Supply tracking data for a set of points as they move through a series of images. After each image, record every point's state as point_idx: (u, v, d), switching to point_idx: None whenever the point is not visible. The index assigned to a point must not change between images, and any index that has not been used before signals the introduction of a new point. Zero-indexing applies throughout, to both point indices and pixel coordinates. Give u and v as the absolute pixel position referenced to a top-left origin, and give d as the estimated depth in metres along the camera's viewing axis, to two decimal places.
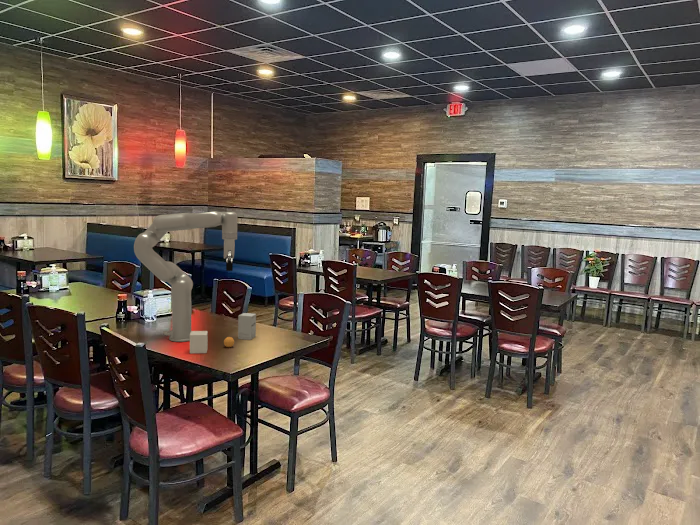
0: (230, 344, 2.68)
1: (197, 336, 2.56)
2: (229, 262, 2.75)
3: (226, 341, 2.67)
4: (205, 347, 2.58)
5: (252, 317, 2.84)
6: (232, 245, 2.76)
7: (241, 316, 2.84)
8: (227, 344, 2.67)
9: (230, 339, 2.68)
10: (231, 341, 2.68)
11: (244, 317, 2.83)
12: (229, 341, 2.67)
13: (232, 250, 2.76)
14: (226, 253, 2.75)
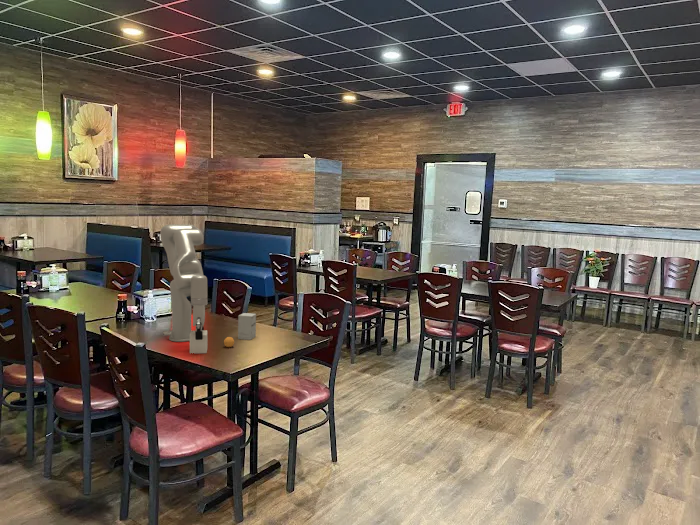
0: (230, 344, 2.68)
1: None
2: (198, 330, 2.53)
3: (226, 341, 2.67)
4: (205, 347, 2.57)
5: (252, 317, 2.84)
6: (201, 312, 2.54)
7: (241, 316, 2.84)
8: (227, 344, 2.67)
9: (230, 339, 2.68)
10: (231, 341, 2.68)
11: (244, 317, 2.83)
12: (229, 341, 2.67)
13: (202, 317, 2.54)
14: (195, 321, 2.53)
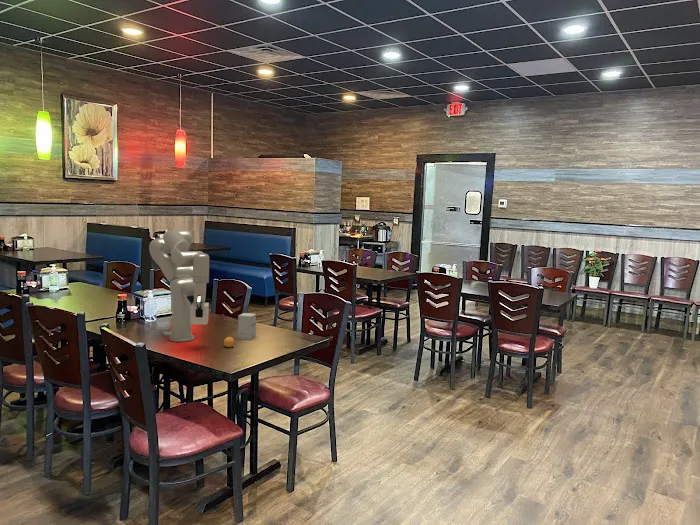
0: (230, 344, 2.68)
1: None
2: (199, 308, 2.59)
3: (226, 341, 2.67)
4: (206, 318, 2.62)
5: (252, 317, 2.84)
6: (202, 290, 2.59)
7: (241, 316, 2.84)
8: (227, 344, 2.67)
9: (230, 339, 2.68)
10: (231, 341, 2.68)
11: (244, 317, 2.83)
12: (229, 341, 2.67)
13: (202, 295, 2.59)
14: (196, 299, 2.58)
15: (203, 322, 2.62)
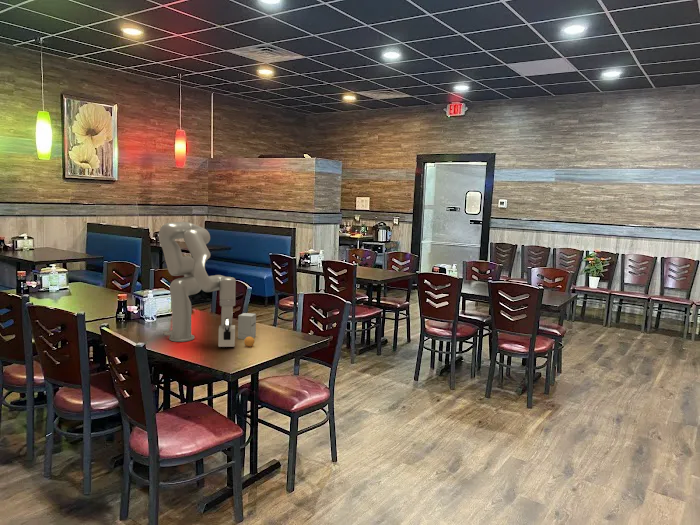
0: (249, 340, 2.69)
1: None
2: (227, 331, 2.63)
3: (250, 345, 2.70)
4: (233, 341, 2.66)
5: (252, 317, 2.84)
6: (230, 312, 2.63)
7: (241, 316, 2.84)
8: (251, 342, 2.70)
9: (246, 344, 2.70)
10: (246, 342, 2.69)
11: (244, 317, 2.83)
12: (248, 343, 2.69)
13: (230, 318, 2.63)
14: (224, 322, 2.63)
15: (230, 344, 2.66)
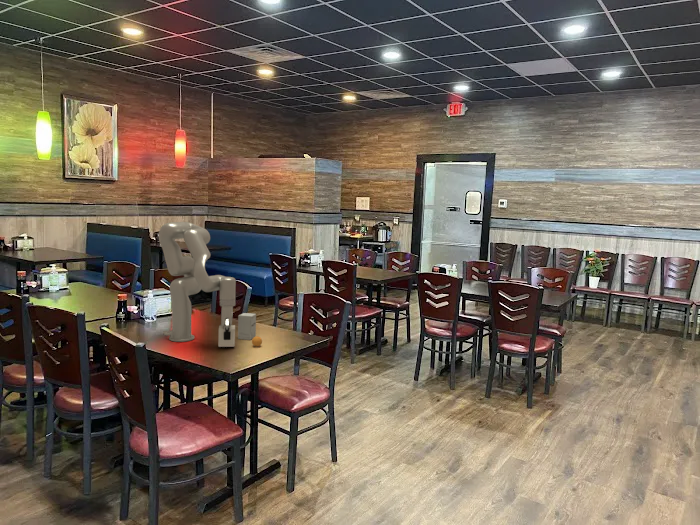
0: (259, 341, 2.70)
1: None
2: (227, 331, 2.63)
3: (254, 343, 2.70)
4: (233, 341, 2.66)
5: (252, 317, 2.84)
6: (230, 312, 2.63)
7: (241, 316, 2.84)
8: (257, 344, 2.70)
9: (254, 339, 2.71)
10: (257, 339, 2.70)
11: (244, 317, 2.83)
12: (255, 341, 2.70)
13: (230, 318, 2.63)
14: (224, 322, 2.63)
15: (230, 344, 2.66)
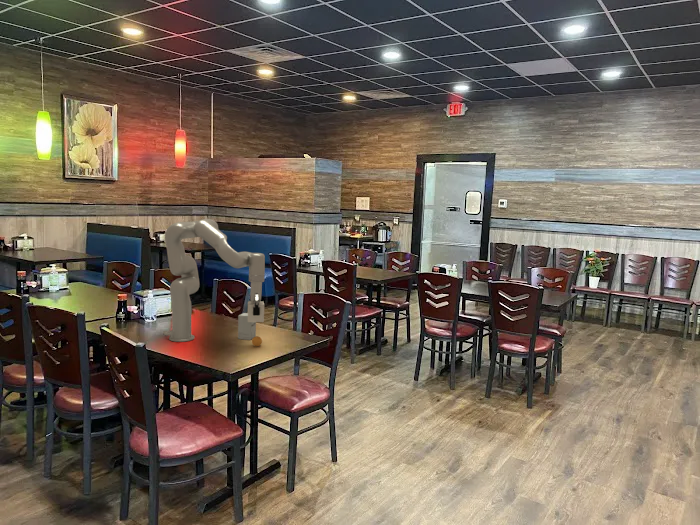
0: (259, 341, 2.70)
1: None
2: (256, 306, 2.64)
3: (254, 343, 2.70)
4: (262, 316, 2.67)
5: None
6: (259, 288, 2.65)
7: (241, 316, 2.84)
8: (257, 344, 2.70)
9: (254, 339, 2.71)
10: (257, 339, 2.70)
11: (244, 317, 2.83)
12: (255, 341, 2.70)
13: (259, 293, 2.65)
14: (253, 297, 2.64)
15: (260, 320, 2.67)
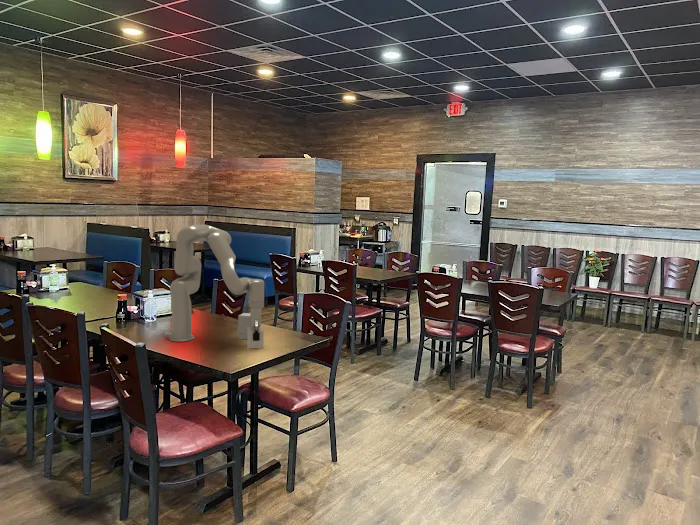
0: None
1: None
2: (256, 332, 2.65)
3: None
4: (262, 342, 2.69)
5: None
6: (259, 314, 2.66)
7: (241, 316, 2.84)
8: None
9: None
10: None
11: (244, 317, 2.83)
12: None
13: (259, 319, 2.66)
14: (253, 323, 2.66)
15: (259, 346, 2.69)
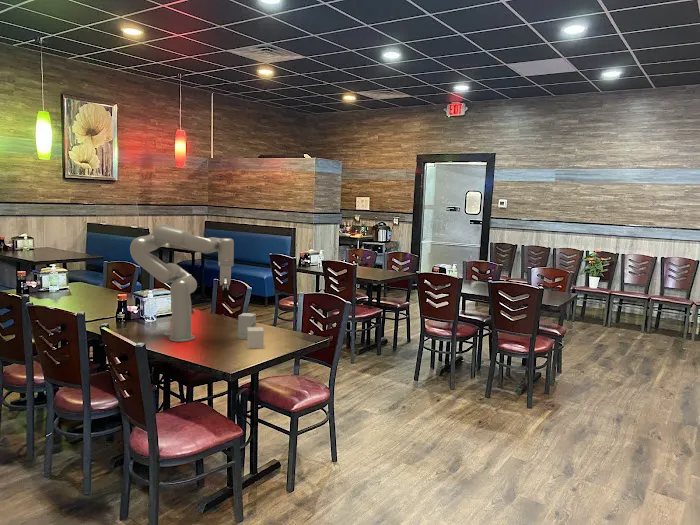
0: None
1: (254, 332, 2.68)
2: (225, 289, 2.71)
3: None
4: (262, 342, 2.69)
5: (252, 317, 2.84)
6: (228, 272, 2.72)
7: (241, 316, 2.84)
8: None
9: None
10: None
11: (244, 317, 2.83)
12: None
13: (228, 277, 2.72)
14: (222, 280, 2.71)
15: (259, 346, 2.69)
